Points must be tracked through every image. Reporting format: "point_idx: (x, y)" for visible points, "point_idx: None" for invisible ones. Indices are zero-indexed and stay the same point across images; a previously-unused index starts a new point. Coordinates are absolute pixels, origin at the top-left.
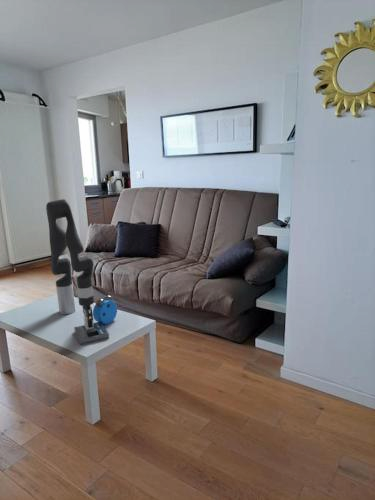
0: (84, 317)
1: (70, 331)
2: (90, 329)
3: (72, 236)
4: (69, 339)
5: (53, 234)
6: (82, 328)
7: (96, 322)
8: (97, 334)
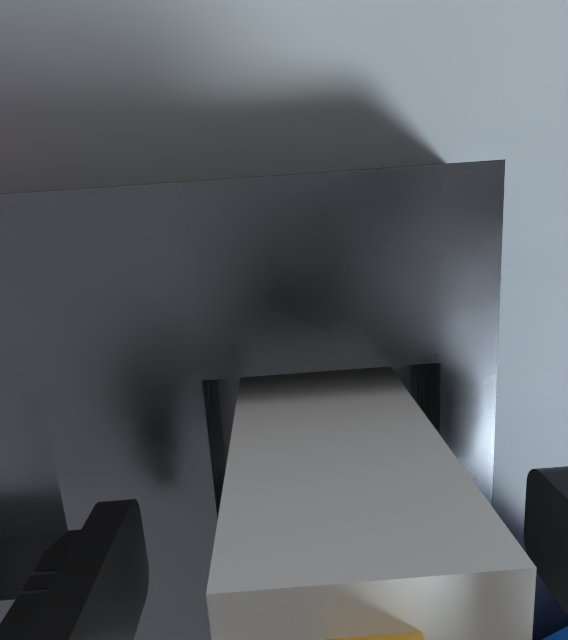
0: (447, 593)
1: (559, 88)
2: (191, 488)
3: None
4: (183, 30)
5: None
6: (328, 339)
7: None
8: None
